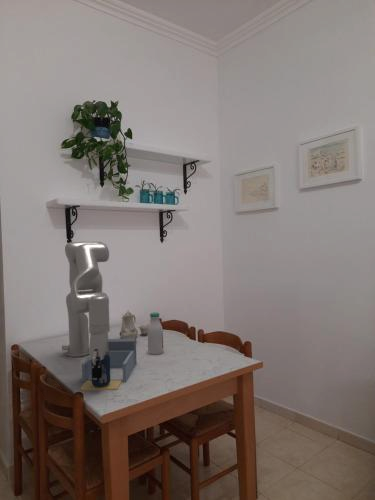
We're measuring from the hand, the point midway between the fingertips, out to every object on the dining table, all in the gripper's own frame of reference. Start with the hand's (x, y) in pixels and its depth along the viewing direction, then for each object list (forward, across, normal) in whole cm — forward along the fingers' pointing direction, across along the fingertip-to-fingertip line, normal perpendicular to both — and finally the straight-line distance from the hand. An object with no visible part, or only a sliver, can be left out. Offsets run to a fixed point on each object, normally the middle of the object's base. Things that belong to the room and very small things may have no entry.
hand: (100, 373), depth 136 cm
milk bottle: (+6, -44, +15) cm, 47 cm away
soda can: (+5, 0, 0) cm, 5 cm away
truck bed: (+6, -15, 0) cm, 16 cm away
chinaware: (+6, -72, -2) cm, 73 cm away
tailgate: (+5, -5, 0) cm, 7 cm away
